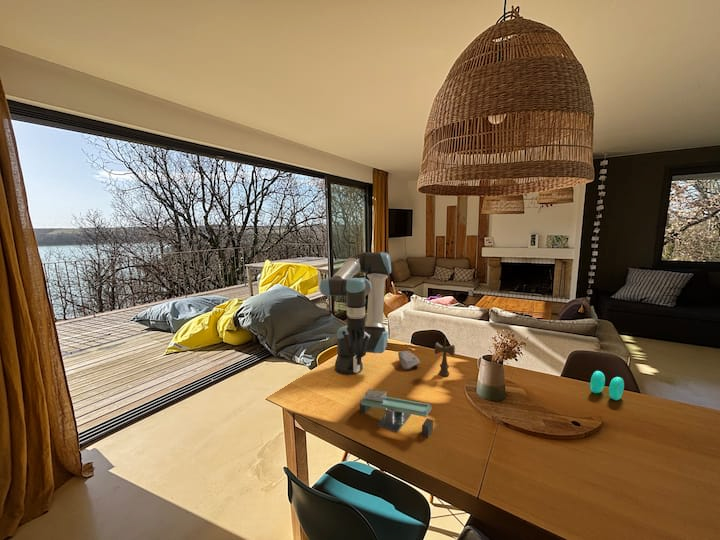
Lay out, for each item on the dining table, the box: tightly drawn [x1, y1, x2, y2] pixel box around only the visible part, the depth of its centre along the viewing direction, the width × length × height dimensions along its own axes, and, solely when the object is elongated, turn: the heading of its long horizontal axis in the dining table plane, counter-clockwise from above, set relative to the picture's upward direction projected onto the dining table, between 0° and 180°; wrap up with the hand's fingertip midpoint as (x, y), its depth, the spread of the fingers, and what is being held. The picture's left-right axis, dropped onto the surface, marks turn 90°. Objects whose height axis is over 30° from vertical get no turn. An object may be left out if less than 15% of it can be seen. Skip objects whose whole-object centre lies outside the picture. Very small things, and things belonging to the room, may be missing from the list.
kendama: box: [434, 337, 456, 377], centre depth 154 cm, size 6×10×20 cm, turn 67°
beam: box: [360, 396, 433, 418], centre depth 118 cm, size 7×28×2 cm, turn 57°
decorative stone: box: [397, 350, 421, 370], centre depth 167 cm, size 13×10×6 cm
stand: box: [359, 396, 434, 438], centre depth 119 cm, size 13×29×7 cm, turn 57°
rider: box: [364, 389, 388, 404], centre depth 122 cm, size 3×8×4 cm, turn 57°
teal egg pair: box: [589, 370, 625, 401], centre depth 134 cm, size 10×10×10 cm
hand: (356, 371), depth 126 cm, fingers closed
